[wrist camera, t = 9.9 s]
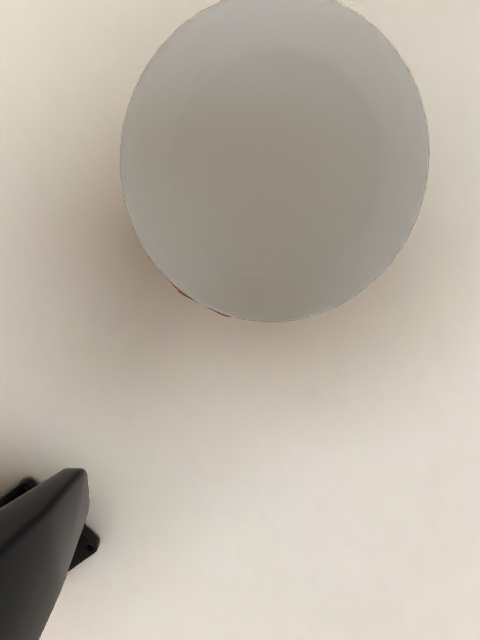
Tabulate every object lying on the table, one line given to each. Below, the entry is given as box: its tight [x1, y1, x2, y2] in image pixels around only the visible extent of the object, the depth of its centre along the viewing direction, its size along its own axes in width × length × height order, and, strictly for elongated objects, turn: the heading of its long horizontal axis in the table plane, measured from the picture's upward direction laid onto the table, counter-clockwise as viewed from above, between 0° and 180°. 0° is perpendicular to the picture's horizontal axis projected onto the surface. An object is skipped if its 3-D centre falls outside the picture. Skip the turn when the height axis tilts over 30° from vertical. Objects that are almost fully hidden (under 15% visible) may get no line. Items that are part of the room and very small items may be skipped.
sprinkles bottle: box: [120, 0, 430, 322], centre depth 12 cm, size 5×5×14 cm
